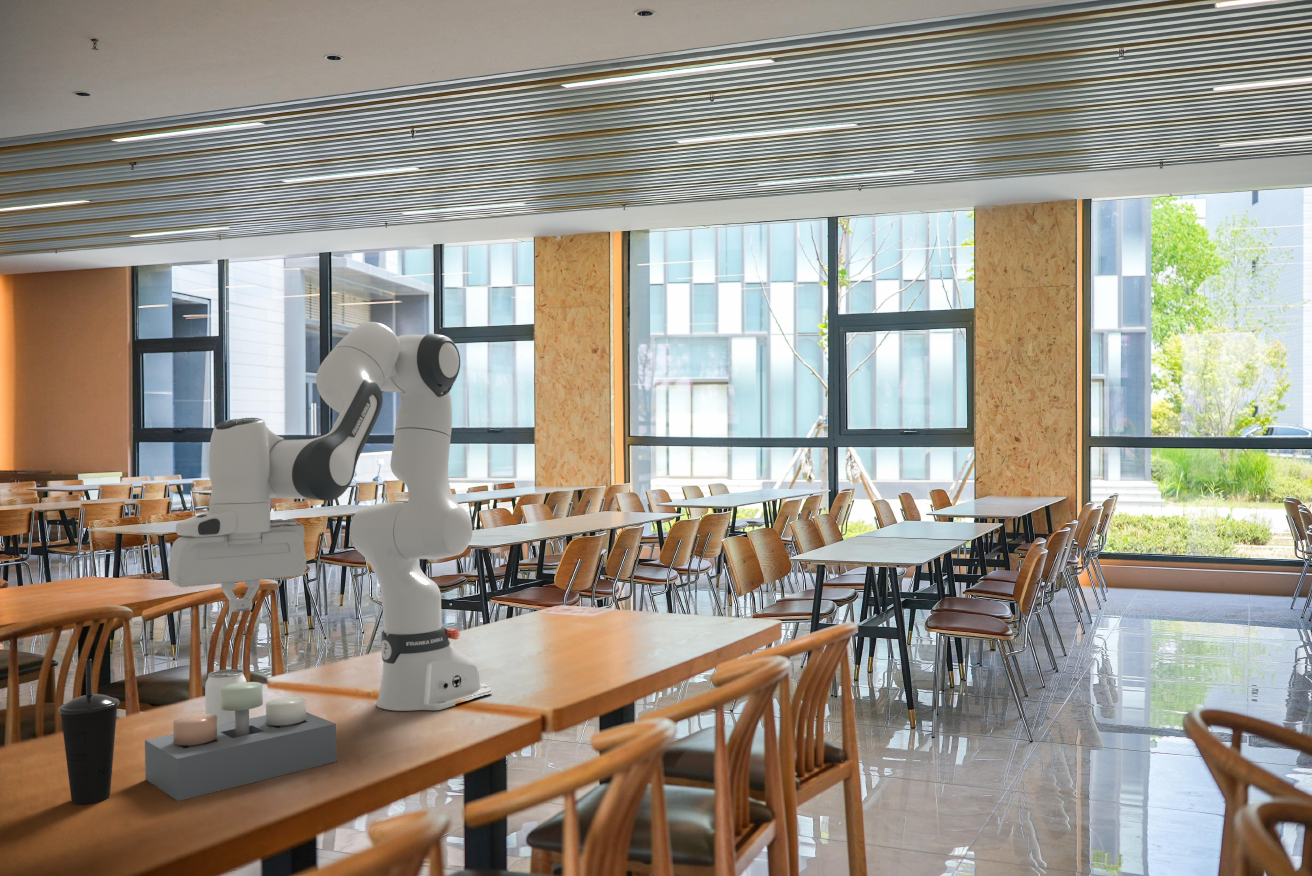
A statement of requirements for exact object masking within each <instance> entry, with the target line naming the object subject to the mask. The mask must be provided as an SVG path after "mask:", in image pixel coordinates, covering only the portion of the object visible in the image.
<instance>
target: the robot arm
mask: <svg viewBox="0 0 1312 876" xmlns="http://www.w3.org/2000/svg"><path fill="white" fill-rule="evenodd" d="M460 369H461V355H460V351H459V349H458V347H457V345H456V344H455V342H454V341H453V340H452V338H450V337H449V336H446V335H443V334H437V333H428V334H402V335H398V336H397V334H396V333H395V332H394V331H393V330H392V329H391V328H390V327H388V326H387V325H386V324H383V323H380V322H376V321H367V322H363V323H362V324H359V325H358V326H356V327H355V328H354V329H352V330H351V331H350V332H349V333H347V334H346V335H345V336H344V337H343V338H342V339H341V340H340V341H339V342H338V343H336V345H335V346H334V347H333V349H331V351H330V352H329V353H328V355H326V357H325V358H324V360H323V361H322V362H321V363H320V366H319V367H318V370H317V372H316V375H315V382H316V387H317V391H318V394H319V395H320V397H321V399H322V400H323V402H325V404H326V405H327V406H329V407H330V408H331V409H332V410H334V411H335V412H337V413H338V414H339V415H338V417H337V418H336V421H335V422H334V424H333V426H332V428H331V430H330V431H329V432H328V433H326V434H324V435H321V436H318V437H315V438H314V437H313V438H305V439H285V438H284V437H281V436H279V435H277V434H275V433H274V432H273V431H272V430H270V429H269V428H268V426H267V425H266V422H265V420H264V419H262V418H259V417H242V418H234V419H227V420H224V421H221V422H219V423H218V424H215V426H214V428H213V430H212V433H211V436H210V441H209V451H208V476H209V481H210V484H211V493H210V496H209V501H208V507H209V508H208V511H206V512H203V513H201V514H198V515H195V516H192V517H189V518H185V519H182V520H180V521H178V522H177V523H176V525H175V532H176V534H177V535H178V536H180V537H178V538H177V539H175V541H174V542H173V544H172V545H171V551H170V556H169V563H168V564H169V565H168V579H169V581H170V582H171V584H172V585H173V586H174V587H178V588H179V587H180V588H187V587H198V586H205V585H207V586H208V585H218V584H219V585H221V591H222V593H223V594H224V595H225V597H226V598H227V600H228V611H229V612H232V613H235V612H236V613H237V612H242V611H243V612H245V611H252V609H253V599H254V597H255V596H256V594H257V593H258V591H259V589H260V581H262V580H274V579H282V578H283V579H284V578H285V579H286V578H294V577H302V576H303V575H304V573H305V572H306V570H307V556H306V549H305V545H304V542H305V539H306V536H305V535H306V530H305V527H304V525H303V524H302V523H301V522H299V521H297V520H296V519H295V518H289V519H288V518H286V519H271V499H287V500H289V499H293V500H294V499H303V500H304V499H305V500H306V499H309V500H314V501H315V500H316V501H323V502H326V501H327V502H330V501H335V500H336V499H338V498H340V497H341V496H342V495H344V494H345V493H346V491H347V489H349V487H350V485H351V483H352V482H353V478H354V476H355V471H356V468H357V464H358V460H359V458H360V455H361V453H362V451H363V449H364V447H365V445H366V443H367V441H368V440H369V439H368V438H369V437H370V434H372V433H371V432H372V430H373V429H374V427H375V424H376V422H377V420H378V417H379V416H380V413H381V411H382V407H383V399H384V397H383V393H385V392H387V393H399V396H400V405H399V407H398V413H397V417H396V421H395V428H394V433H393V434H394V436H393V441H392V450H391V456H390V458H391V459H390V462H389V463H390V464H389V465H390V471H391V472H392V474H393V475H394V476H395V478H396V479H397V480H398V481H400V482H402V483H403V484H404V485H405V486H406V488H407V493H408V500H407V502H381V503H376V504H371V505H366V506H364V507H361V508H360V509H358V510H357V511H356V512H355V514H354V515H353V517H352V520H351V522H350V525H349V536H350V541H351V544H352V545H353V547H354V548H355V551H357V552H358V553H359V554H361V555H362V556H363V557H364V558H365V560H367V562H368V563H369V565H370V567H371V569H372V571H373V572H374V574H375V577H376V579H377V582H378V585H379V588H380V594H381V601H382V619H383V621H382V622H383V624H382V625H383V630H382V631H381V634H380V635H381V641H380V644H381V659H382V674H381V681H380V688H379V691H378V692H379V693H378V695H377V696H378V697H377V701H376V704H375V705H376V706H377V708H380V709H382V710H383V709H384V710H388V711H399V712H400V711H403V712H404V711H406V712H407V711H440V710H443V709H448V708H451V707H454V706H456V705H455V704H456V702H457V701H458V700H461V699H465V698H469V697H472V696H476V695H481V694H485V693H489V692H491V691H493V690H492V688H491V686H489V685H487V684H485V683H483V682H482V683H481V678H480V673H479V669H478V666H477V664H476V663H475V662H474V661H473V660H472V659H471V658H470V657H468V656H467V655H465V654H464V653H462V652H461V651H459V650H458V649H456V648H455V647H454V646H452V645H451V642H450V640H449V639H452V640H453V641H455V640H458V639H459V637H460V636H461V632H460V630H459V629H456V628H449V629H447V628H445V627H443V626H442V593H441V590H440V587H439V586H438V584H437V583H436V582H435V581H434V580H432V579H431V578H429V577H428V576H427V575H426V574H425V573H424V572H423V570H422V569H421V565H420V563H419V559H420V560H441V559H447V558H452V557H455V556H461V554H463V553H464V552H465V551H466V550H467V548H468V547H469V545H470V542H471V539H472V537H473V524H472V520H471V518H470V515H469V514H468V512H467V511H466V509H464V507H462V506H461V505H460V504H459V503H458V501H457V499H456V498H455V497H454V494H453V492H452V489H451V485H450V481H449V459H450V447H451V437H452V427H453V425H452V424H453V408H452V398H451V393H450V391H451V390H452V387H453V385H454V383H455V382H456V380H457V379H458V378H457V377H458V375H459V374H460ZM240 582H244V585H245V587H246V588H247V590H246V592H245V595H244V596H243V597H242V598H237V596H236V595H235V592H234V591H233V590H236V586H237V584H236V583H240Z"/></svg>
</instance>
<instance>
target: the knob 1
mask: <svg viewBox="0 0 1312 876" xmlns="http://www.w3.org/2000/svg"><path fill="white" fill-rule="evenodd" d="M172 725H173V726H172V730H173V731H172V732H173V737H174V744H177V745H188V748H189V747H194V746H199V745H203V743H206V742H210V741H212V740H214V739H216V738H217V716H216V715H212V714H206V713H200V714H191V715H186V716H182V717H179V718H176V719H174V720H173V723H172Z"/></svg>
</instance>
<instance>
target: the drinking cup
mask: <svg viewBox="0 0 1312 876" xmlns="http://www.w3.org/2000/svg"><path fill="white" fill-rule="evenodd" d="M92 683H93V682H92V659H91V658H90V659H89V658H88V659H85V686H86V687H85V690H86V691H85V692H86V694H85V695H81V696H78V697H75V698H72V699H70V700H68V701H67V702H66V703H64V704H61V705H59V707H58V713H59V714H60V716H61V727H62V734H63V741H64V750H65V758H66V766H67V775H68V783H69V791H70V798H71V799H70V800H71V803H72V804H73V805H81V806H83V805H91V804H96V803H100V802H102V801H105V800H107V799H109V798H110V796H111V790H112V789H111V787H112V778H113V777H112V775H113V764H114V763H113V762H114V750H115V736H116V726H117V725H116V723H117V713H118V706H119V705H120V699H118V698H117V697H116V698H115V697H112V696H109V695H106V694H98V693H93V690H92V689H93V686H92ZM108 797H109V798H108Z"/></svg>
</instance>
